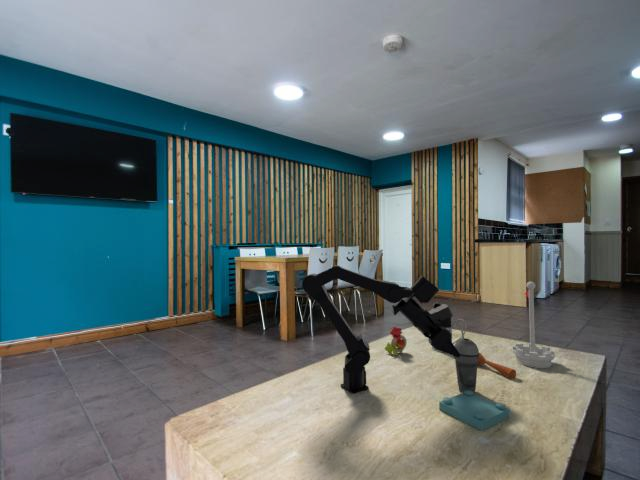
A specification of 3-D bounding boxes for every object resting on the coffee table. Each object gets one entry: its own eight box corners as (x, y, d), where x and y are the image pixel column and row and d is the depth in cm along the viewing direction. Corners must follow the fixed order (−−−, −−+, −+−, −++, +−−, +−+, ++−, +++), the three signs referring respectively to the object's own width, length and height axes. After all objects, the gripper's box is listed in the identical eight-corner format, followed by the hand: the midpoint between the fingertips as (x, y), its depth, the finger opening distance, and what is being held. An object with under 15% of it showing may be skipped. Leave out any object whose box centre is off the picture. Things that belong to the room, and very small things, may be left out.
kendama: (505, 369, 105) (457, 347, 123) (507, 386, 105) (459, 361, 124) (518, 362, 107) (469, 342, 125) (519, 379, 108) (470, 356, 126)
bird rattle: (395, 355, 137) (379, 350, 133) (403, 329, 139) (387, 323, 135) (406, 359, 131) (390, 354, 127) (413, 333, 134) (398, 326, 130)
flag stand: (562, 369, 113) (560, 283, 114) (522, 368, 115) (519, 283, 116) (543, 357, 126) (541, 279, 127) (507, 356, 128) (505, 279, 129)
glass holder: (435, 344, 144) (435, 310, 144) (469, 351, 135) (469, 314, 135) (428, 349, 137) (427, 314, 137) (463, 356, 128) (462, 318, 128)
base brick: (481, 430, 76) (481, 418, 77) (439, 409, 87) (439, 398, 87) (510, 416, 83) (509, 405, 83) (467, 398, 93) (467, 388, 93)
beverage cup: (477, 399, 92) (475, 328, 93) (450, 392, 97) (449, 324, 97) (482, 389, 98) (481, 323, 99) (457, 384, 103) (456, 320, 103)
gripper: (442, 300, 90) (485, 341, 88) (427, 291, 108) (463, 325, 107) (414, 329, 91) (456, 369, 89) (404, 315, 109) (439, 348, 108)
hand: (454, 351), depth 98 cm, fingers open, 9 cm apart
